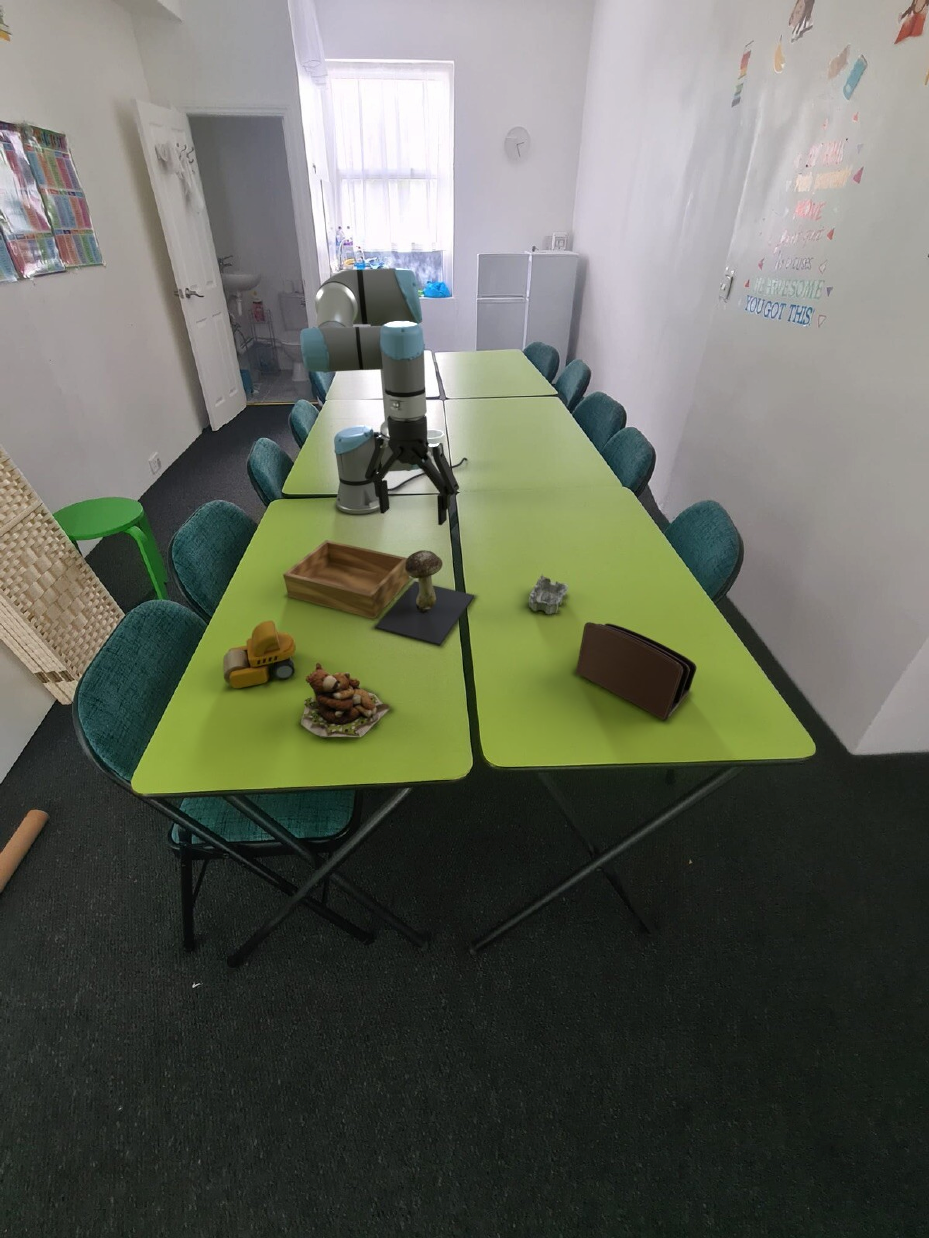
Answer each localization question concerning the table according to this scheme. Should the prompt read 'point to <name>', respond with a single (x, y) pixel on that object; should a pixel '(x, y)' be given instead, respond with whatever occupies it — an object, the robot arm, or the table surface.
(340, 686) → the bear figurine
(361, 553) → the crate
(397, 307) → the robot arm
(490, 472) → the table surface
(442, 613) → the mat
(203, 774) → the table surface
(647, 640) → the letter holder
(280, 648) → the toy roller
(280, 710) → the table surface
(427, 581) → the mushroom
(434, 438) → the foam cup
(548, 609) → the egg carton
